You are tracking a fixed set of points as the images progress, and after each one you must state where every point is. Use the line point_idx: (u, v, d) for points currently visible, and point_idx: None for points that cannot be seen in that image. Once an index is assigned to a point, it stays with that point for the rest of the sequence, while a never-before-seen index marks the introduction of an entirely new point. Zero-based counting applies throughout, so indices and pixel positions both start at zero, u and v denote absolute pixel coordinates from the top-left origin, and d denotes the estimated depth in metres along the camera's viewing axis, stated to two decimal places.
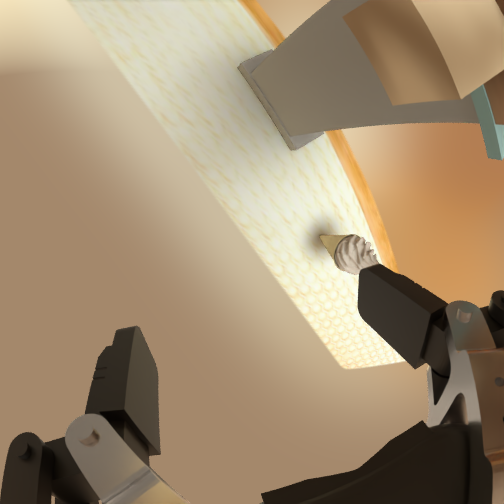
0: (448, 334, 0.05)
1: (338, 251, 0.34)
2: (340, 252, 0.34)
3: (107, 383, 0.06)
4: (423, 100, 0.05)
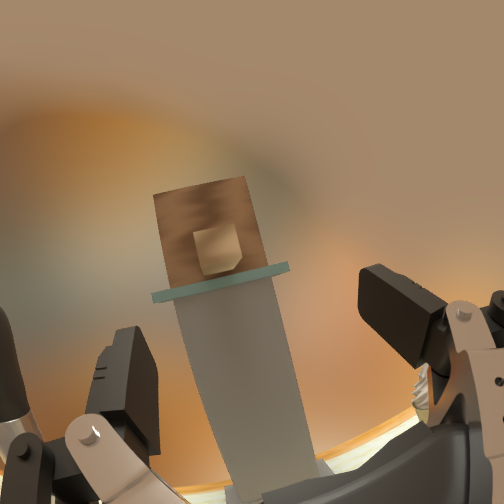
0: (448, 334, 0.05)
1: None
2: None
3: (107, 383, 0.06)
4: (237, 239, 0.20)
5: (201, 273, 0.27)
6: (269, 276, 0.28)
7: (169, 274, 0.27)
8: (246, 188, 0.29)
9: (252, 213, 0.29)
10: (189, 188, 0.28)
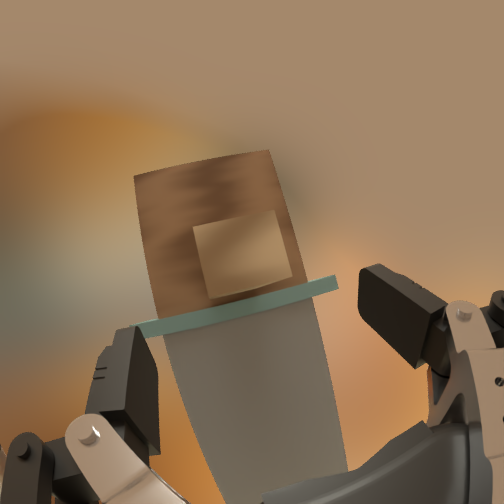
0: (448, 334, 0.05)
1: None
2: None
3: (107, 382, 0.06)
4: (282, 242, 0.10)
5: (206, 295, 0.17)
6: (310, 298, 0.18)
7: (156, 296, 0.17)
8: (272, 167, 0.19)
9: (282, 203, 0.19)
10: (187, 166, 0.19)
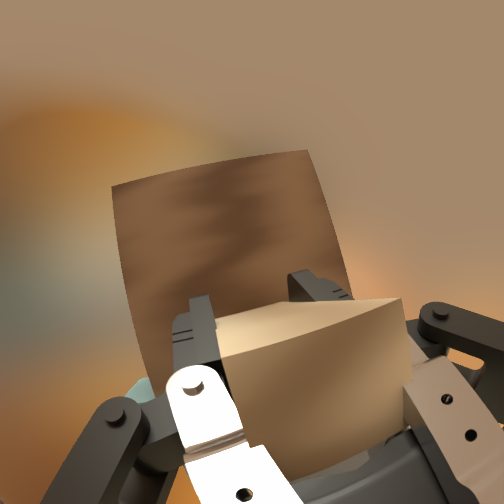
0: None
1: None
2: None
3: (198, 340, 0.07)
4: (410, 365, 0.04)
5: None
6: None
7: (150, 369, 0.11)
8: (313, 175, 0.13)
9: (330, 228, 0.13)
10: (190, 171, 0.13)
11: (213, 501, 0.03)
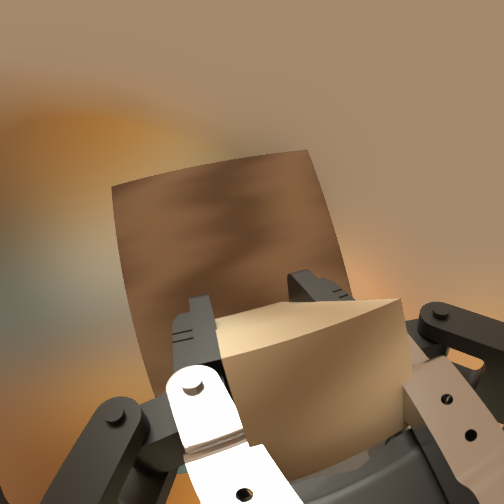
0: None
1: None
2: None
3: (198, 339, 0.07)
4: (409, 365, 0.04)
5: None
6: None
7: (150, 369, 0.11)
8: (313, 175, 0.13)
9: (330, 228, 0.13)
10: (190, 171, 0.13)
11: (213, 501, 0.03)
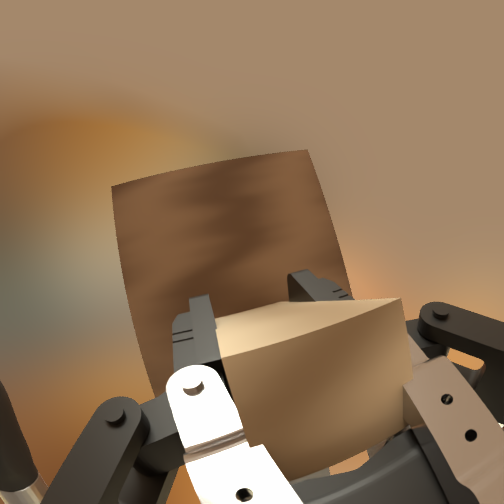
0: None
1: None
2: None
3: (198, 340, 0.07)
4: (410, 365, 0.04)
5: None
6: None
7: (150, 369, 0.11)
8: (313, 174, 0.13)
9: (330, 228, 0.13)
10: (190, 171, 0.13)
11: (213, 501, 0.03)
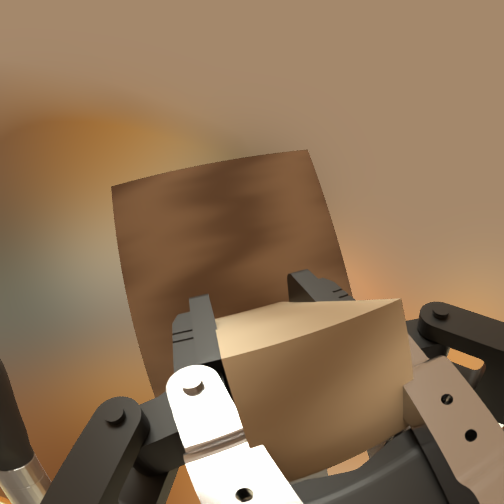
0: None
1: None
2: None
3: (198, 339, 0.07)
4: (410, 366, 0.04)
5: None
6: None
7: (150, 369, 0.11)
8: (313, 175, 0.13)
9: (330, 228, 0.13)
10: (190, 171, 0.12)
11: (213, 501, 0.03)
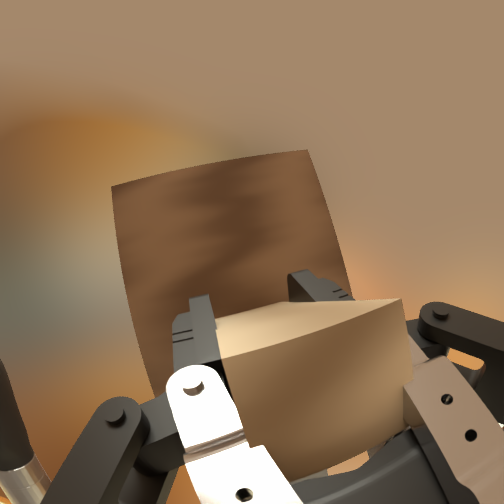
0: None
1: None
2: None
3: (198, 339, 0.07)
4: (410, 365, 0.04)
5: None
6: None
7: (150, 369, 0.11)
8: (313, 174, 0.13)
9: (330, 228, 0.13)
10: (190, 171, 0.12)
11: (213, 501, 0.03)
